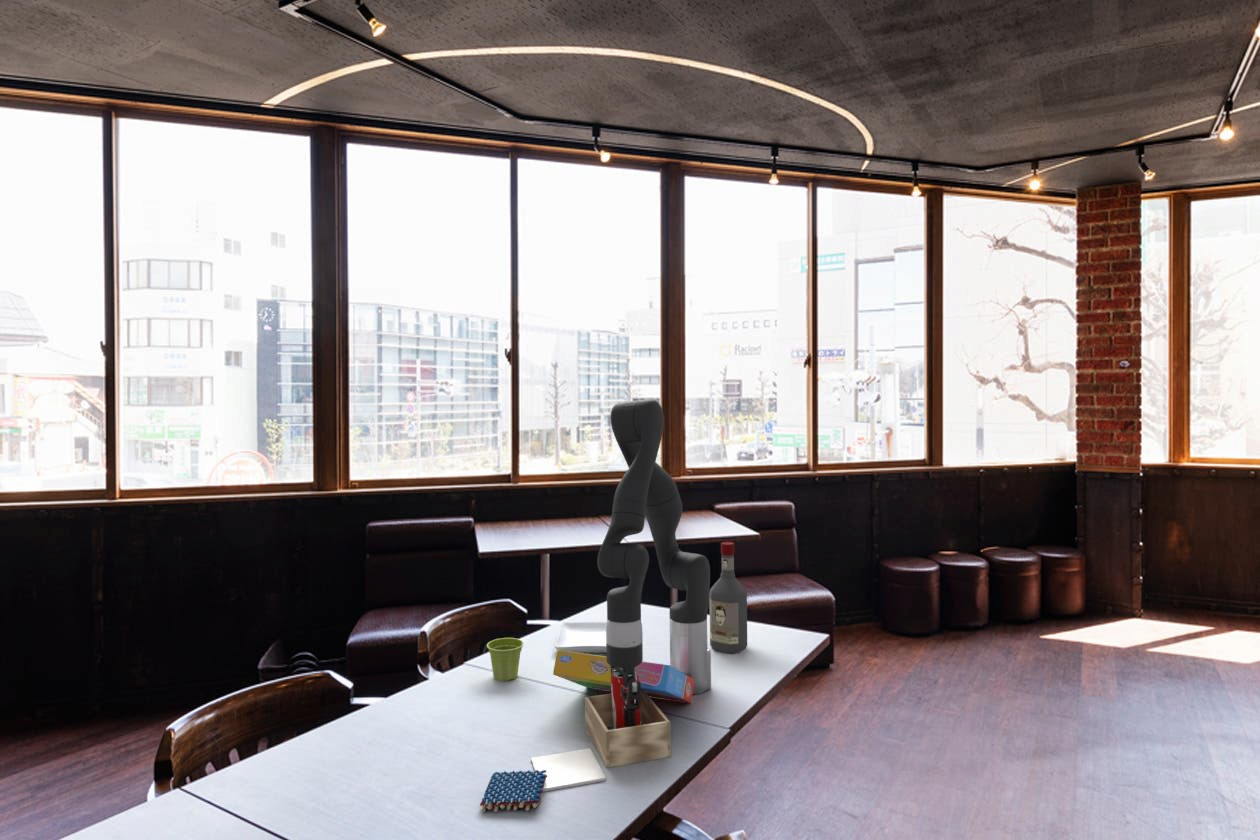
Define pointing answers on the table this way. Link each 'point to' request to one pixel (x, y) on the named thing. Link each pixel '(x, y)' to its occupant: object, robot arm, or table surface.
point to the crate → (627, 732)
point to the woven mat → (514, 790)
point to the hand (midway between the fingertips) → (625, 719)
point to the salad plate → (582, 637)
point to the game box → (651, 675)
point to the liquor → (728, 608)
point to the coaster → (569, 769)
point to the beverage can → (620, 701)
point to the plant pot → (505, 657)
